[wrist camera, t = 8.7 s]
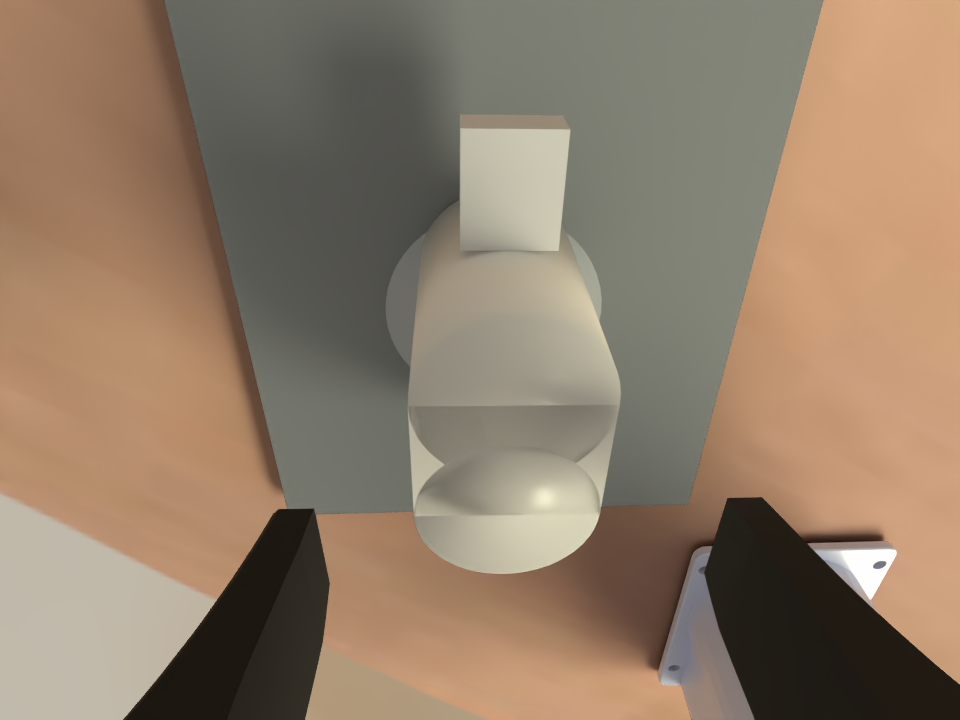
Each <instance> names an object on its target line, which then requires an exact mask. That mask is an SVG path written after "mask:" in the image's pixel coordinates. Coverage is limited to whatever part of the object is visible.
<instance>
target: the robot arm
mask: <svg viewBox="0 0 960 720" xmlns="http://www.w3.org/2000/svg"><path fill="white" fill-rule="evenodd" d="M896 554H897V551H896V549H895V548H894V546H893V545H892V544H891V543H890V542H887V541H867V542H832V543H806V542H805V541H804V540H803V539H802V538H801V537H800V536H799V535H798V534H797V533H796V532H795V531H794V530H793V529H792V528H791V527H790V526H789V525H788V523H787V522H786V521H785V520H784V519H783V518H782V517H781V516H780V515H779V514H778V513H777V512H776V511H775V510H774V509H773V508H772V507H771V506H770V505H769V504H768V503H767V502H766V501H765V500H764V499H763V498H762V497H758V498H727V501H726V505H725V508H724V511H723V514H722V517H721V521H720V524H719V527H718V530H717V533H716V536H715V540H714V543H713V546H704V547H701V548H698V549H697V550H696V551H694V553H693V555H692V558H691V561H690V564H689V568H688V571H687V575H686V578H685V581H684V585H683V588H682V592H681V595H680V599H679V602H678V605H677V609H676V612H675V616H674V619H673V622H672V626H671V629H670V633H669V636H668V639H667V643H666V646H665V650H664V653H663V657H662V660H661V663H660V667H659V670H658V678H659V682H660V683H661V684H664V685H681V687H682V690H683V693H684V697H685V700H686V703H687V707H688V710H689V713H690V717H691V720H960V685H959V684H958V683H957V682H956V681H955V680H953V679H952V678H951V677H950V676H949V675H947V674H946V673H945V672H944V671H943V670H941V669H940V668H939V667H938V666H937V665H935V664H934V663H933V662H932V661H931V660H930V659H928V658H927V657H926V656H925V655H924V654H923V653H922V652H921V651H919V650H918V649H917V648H916V647H915V646H914V645H913V644H912V643H910V642H909V641H908V640H907V639H906V638H905V637H904V636H902V635H901V634H900V633H899V632H898V631H897V630H896V629H895V628H893V627H892V626H891V625H890V624H889V623H888V622H887V621H886V620H885V619H884V618H883V617H882V616H881V615H879V614H878V612H877V610H876V609H875V607H874V605H873V604H872V602H871V598H872V597H873V595H874V593H875V591H876V590H877V588H878V586H879V584H880V583H881V581H882V579H883V577H884V576H885V574H886V572H887V570H888V569H889V567H890V565H891V563H892V562H893V560H894V558H895V556H896ZM329 585H330V583H329V578H328V573H327V568H326V563H325V558H324V554H323V549H322V544H321V539H320V534H319V529H318V525H317V520H316V515H315V510H314V508H310V509H278V510H277V511H276V512H275V513H274V514H273V515H272V517H271V518H270V520H269V522H268V523H267V525H266V527H265V528H264V530H263V532H262V533H261V535H260V536H259V538H258V540H257V541H256V543H255V544H254V546H253V548H252V549H251V551H250V552H249V554H248V555H247V557H246V558H245V560H244V561H243V563H242V565H241V566H240V568H239V569H238V571H237V572H236V574H235V575H234V577H233V578H232V580H231V581H230V582H229V584H228V585H227V587H226V588H225V590H224V591H223V592H222V594H221V595H220V597H219V598H218V599H217V601H216V602H215V604H214V605H213V607H212V608H211V609H210V611H209V612H208V614H207V615H206V616H205V618H204V619H203V621H202V622H201V623H200V625H199V626H198V628H197V629H196V630H195V631H194V633H193V634H192V635H191V637H190V638H189V639H188V640H187V642H186V643H185V645H184V646H183V647H182V648H181V649H180V651H179V652H178V653H177V655H176V656H175V657H174V658H173V660H172V661H171V662H170V664H169V665H168V666H167V667H166V669H165V670H164V672H163V673H162V674H161V675H160V676H159V678H158V679H157V680H156V681H155V683H154V684H153V685H152V686H151V687H150V689H149V690H148V691H147V692H146V693H145V695H144V696H143V697H142V698H141V699H140V701H139V702H138V703H137V704H136V705H135V706H134V708H133V709H132V710H131V711H130V712H129V714H128V715H127V716H126V717H125V718H124V719H123V720H305V717H306V713H307V708H308V704H309V700H310V695H311V691H312V687H313V682H314V678H315V673H316V669H317V665H318V661H319V656H320V652H321V647H322V643H323V635H324V628H325V620H326V612H327V603H328V594H329Z"/></svg>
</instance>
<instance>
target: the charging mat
mask: <svg viewBox="0 0 960 720" xmlns="http://www.w3.org/2000/svg"><path fill="white" fill-rule="evenodd" d="M164 3H165V7H166V11H167V15H168V19H169V23H170V27H171V31H172V36H173V40H174V44H175V48H176V52H177V56H178V60H179V64H180V69H181V73H182V77H183V81H184V85H185V89H186V93H187V97H188V102H189V106H190V110H191V114H192V118H193V122H194V126H195V130H196V134H197V139H198V143H199V147H200V151H201V155H202V159H203V163H204V167H205V172H206V176H207V180H208V184H209V188H210V192H211V196H212V200H213V204H214V209H215V213H216V217H217V221H218V225H219V229H220V233H221V237H222V242H223V246H224V250H225V254H226V258H227V262H228V266H229V270H230V275H231V279H232V283H233V287H234V291H235V295H236V299H237V303H238V307H239V312H240V316H241V320H242V324H243V328H244V332H245V336H246V340H247V345H248V349H249V353H250V357H251V361H252V365H253V369H254V373H255V377H256V382H257V386H258V390H259V394H260V398H261V402H262V406H263V410H264V415H265V419H266V423H267V427H268V431H269V435H270V439H271V443H272V448H273V452H274V456H275V460H276V464H277V468H278V472H279V476H280V480H281V485H282V489H283V493H284V497H285V501H286V505H287V509H310V508H314V510H315V514H345V513H382V512H414V510H413V492H412V474H411V456H410V438H409V420H408V390H409V379H410V368H411V356H412V345H413V334H414V323H415V311H416V300H417V289H418V278H419V266H420V255H421V249H422V244H423V242H424V239H425V236H426V234H427V232H428V230H429V228H430V226H431V225H432V223H433V222H434V221H435V219H436V218H437V217H438V216H439V215H440V214H441V213H442V212H443V211H444V210H445V209H446V208H448V207H449V206H450V205H452V204H453V203H455V202H456V201H458V200H460V114H479V115H563V117H564V119H565V121H566V122H567V124H568V126H569V128H570V139H569V150H568V160H567V170H566V180H565V190H564V201H563V211H562V221H561V223H562V225H563V226H564V228H565V230H566V233H567V235H568V238H569V240H570V243H571V246H572V249H573V251H574V254H575V257H576V260H577V262H578V265H579V268H580V271H581V273H582V276H583V279H584V281H585V284H586V287H587V290H588V292H589V295H590V298H591V301H592V303H593V306H594V309H595V312H596V314H597V317H598V320H599V322H600V325H601V328H602V331H603V333H604V336H605V339H606V342H607V344H608V347H609V350H610V353H611V355H612V358H613V361H614V364H615V366H616V369H617V372H618V376H619V380H620V387H621V398H620V406H619V412H618V417H617V423H616V428H615V434H614V439H613V445H612V450H611V455H610V461H609V466H608V472H607V477H606V483H605V488H604V494H603V499H602V504H601V507H607V506H644V505H682V504H688V502H689V499H690V495H691V491H692V487H693V484H694V480H695V476H696V472H697V469H698V465H699V461H700V458H701V454H702V450H703V446H704V443H705V439H706V435H707V432H708V428H709V424H710V420H711V417H712V413H713V409H714V406H715V402H716V398H717V394H718V391H719V387H720V383H721V379H722V376H723V372H724V368H725V365H726V361H727V357H728V353H729V350H730V346H731V342H732V339H733V335H734V331H735V327H736V324H737V320H738V316H739V312H740V309H741V305H742V301H743V298H744V294H745V290H746V286H747V283H748V279H749V275H750V272H751V268H752V264H753V260H754V257H755V253H756V249H757V245H758V242H759V238H760V234H761V231H762V227H763V223H764V219H765V216H766V212H767V208H768V205H769V201H770V197H771V193H772V190H773V186H774V182H775V178H776V175H777V171H778V167H779V164H780V160H781V156H782V152H783V149H784V145H785V141H786V138H787V134H788V130H789V126H790V123H791V119H792V115H793V112H794V108H795V104H796V100H797V97H798V93H799V89H800V85H801V82H802V78H803V74H804V71H805V67H806V63H807V59H808V56H809V52H810V48H811V45H812V41H813V37H814V33H815V30H816V26H817V22H818V18H819V15H820V11H821V7H822V4H823V0H164Z"/></svg>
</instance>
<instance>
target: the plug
mask: <svg viewBox="0 0 960 720" xmlns="http://www.w3.org/2000/svg"><path fill="white" fill-rule="evenodd" d="M569 139H570V128H569V126H568V124H567V122H566V121H565V119H564V117H563V115H479V114H460V200H458V201H456V202H455V203H453V204H452V205H450V206H449V207H448V208H446V209H445V210H444V211H443V212H442V213H441V214H440V215H439V216H438V217H437V218H436V219H435V221H434V222H433V223H432V225H431V226H430V228H429V230H428V232H427V234H426V236H425V239H424V242H423V244H422V249H421V255H420V266H419V278H418V289H417V300H416V311H415V323H414V334H413V345H412V356H411V368H410V379H409V390H408V420H409V438H410V456H411V474H412V492H413V510H414V521H415V526H416V529H417V531H418V534H419V535H420V537H421V539H422V541H423V542H424V543H425V544H426V546H427V547H428V548H429V549H430V550H431V551H433V552H434V553H435V554H436V555H438V556H439V557H440V558H442V559H444V560H445V561H447V562H449V563H451V564H453V565H456V566H458V567H461V568H464V569H467V570H471V571H476V572H481V573H490V574H513V573H521V572H527V571H532V570H536V569H539V568H542V567H545V566H548V565H551V564H553V563H555V562H558V561H559V560H561V559H563V558H565V557H567V556H568V555H570V554H571V553H573V552H574V551H575V550H576V549H578V548H579V547H580V546H581V545H582V544H583V543H584V542H585V541H586V540H587V539H588V538H589V536H590V535H591V533H592V532H593V530H594V528H595V526H596V524H597V522H598V518H599V515H600V510H601V504H602V499H603V494H604V488H605V483H606V477H607V472H608V466H609V461H610V455H611V450H612V445H613V439H614V434H615V428H616V423H617V417H618V412H619V406H620V398H621V387H620V380H619V376H618V372H617V369H616V366H615V364H614V361H613V358H612V355H611V353H610V350H609V347H608V344H607V342H606V339H605V336H604V333H603V331H602V328H601V325H600V322H599V320H598V317H597V314H596V312H595V309H594V306H593V303H592V301H591V298H590V295H589V292H588V290H587V287H586V284H585V281H584V279H583V276H582V273H581V271H580V268H579V265H578V262H577V260H576V257H575V254H574V251H573V249H572V246H571V243H570V240H569V238H568V235H567V233H566V230H565V228H564V226H563V225H562V223H561V221H562V211H563V201H564V190H565V180H566V170H567V160H568V150H569Z"/></svg>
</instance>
